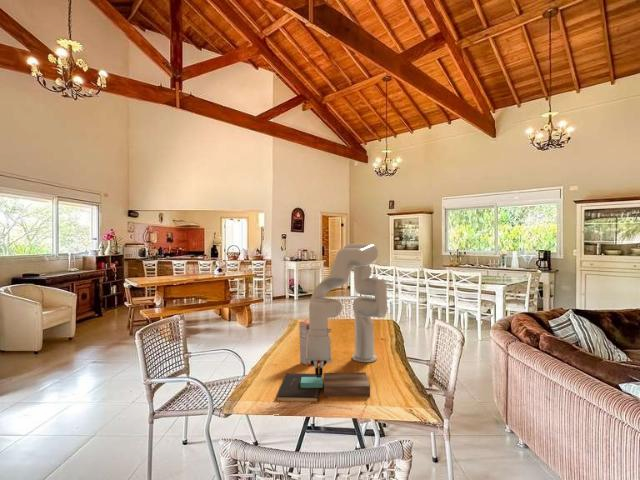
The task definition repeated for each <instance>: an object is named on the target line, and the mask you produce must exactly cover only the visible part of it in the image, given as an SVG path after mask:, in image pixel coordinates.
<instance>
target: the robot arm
mask: <svg viewBox="0 0 640 480" xmlns="http://www.w3.org/2000/svg"><path fill="white" fill-rule="evenodd" d="M378 256H379V250H378V247H377V246H376V245H375V244H373V243H349V244H346V245H344V247H343V248H341V249H339V250H338V251H337V253H336V256H335V259H334V261H333V265H332V268H331V269H330V273H329V274H328V276H327V277H325V278H324V279H323V280H322V281H321V282H319V283H318V285H316V286H315V288H314V290H313V292H312V295H311V297H310V300H309V306H308V311H309V313H308V314H309V315H308V320H309V334H308V336H307V347H306V362H307V363H311V365H312V367H314V374H315V375H317V378H321V375H322V376H324V370H323V368H324V367H325V366H326V364H329V363H332V361H333V360H332V345H331V344H332V343H331V337H330V334H329V333H332V329H331V328H329V326H328V325H329V323H328V321H329V318H336V317H338V316H339V315H340V314H342V311H343V305H342V302H341V301H340V300H338V299H335V298H328V297H325V295H326V294H327V293H328V292H330V291H331V290H334V289H336V288H339V287H341V286H344V285H345V284H347V282H348V280H349V277H350V274H351V271H352V268H353V280H354V290H355V292H356V294H359V295H363V296H356V297H355V298H354V299H353V302H352V311H353V316H354V353H353V354H352V355H351V359H352V360H354V361H355V362H358V363H372V362H376V361H377V359H378V356H377V355H376V354H375V351H374V350H375V347H374V344H375V342H374V341H375V340H374V339H375V334H374V332H375V331H374V327H375V325H374V322H373V320H372V317H373V318H385V316H386V315H387V313H388V294H387V290H388V289H387V283H386V281H385V279H384V277H381V276H372V272H371V271H372V270H371V264H372V263H374V262H375V261H376V260H377V259H378ZM371 296H374V297H371ZM317 361H319V362H320V364H318V362H317Z"/></svg>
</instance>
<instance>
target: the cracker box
mask: <svg viewBox="0 0 640 480" xmlns="http://www.w3.org/2000/svg"><path fill="white" fill-rule="evenodd" d="M298 323H299V324H298V325H299V329H298V330H299V358H300V359H299V361H300V364H302V365H305V366H310V365H312V364H311V363H307V362H306V347H307V336H308V334H309V319H306V320H300V321H299V322H298ZM319 362H320V361H317V363H319Z"/></svg>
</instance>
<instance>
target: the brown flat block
mask: <svg viewBox="0 0 640 480" xmlns="http://www.w3.org/2000/svg"><path fill="white" fill-rule="evenodd" d="M323 397H324V398H327V397H328V398H332V397H338V398H340V397H341V398H344V397H345V398H346V397H350V398H351V397H371V385H370V382H369V379H368V375H367V373H366V372H364V371H363V372H323Z"/></svg>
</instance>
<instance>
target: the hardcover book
mask: <svg viewBox="0 0 640 480" xmlns="http://www.w3.org/2000/svg"><path fill="white" fill-rule="evenodd" d="M302 377H317V375H315V373H298V372H296V373H294V372H293V373H292V372H291V373H290V372H289V373H287V372H286V373H285V375H284V377H283V380H282V382H281V385H280V387H279V389H278V392H277V394H276V398H277V401H284V402H285V401H288V402H290V401H293V402H298V401H299V402H319V398H320V397H319V396H320V392H321V388H301V378H302ZM321 377H323V375H321Z"/></svg>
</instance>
